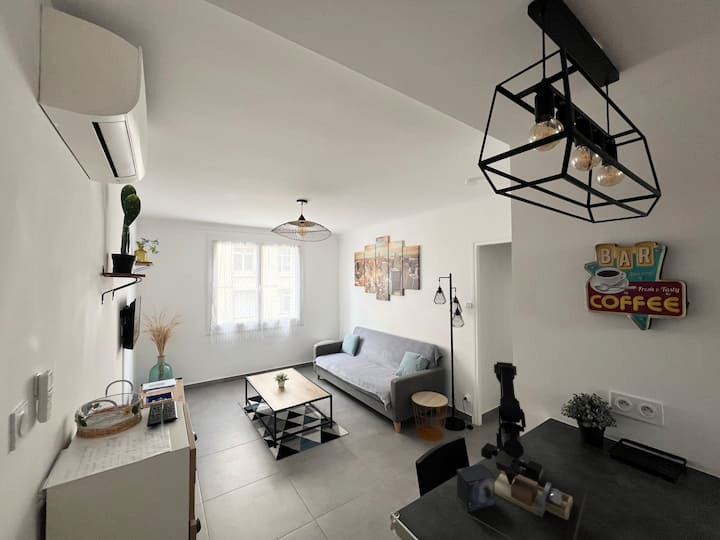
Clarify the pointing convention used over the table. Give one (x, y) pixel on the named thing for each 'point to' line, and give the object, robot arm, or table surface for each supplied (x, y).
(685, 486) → the table surface
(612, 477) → the table surface
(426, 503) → the table surface
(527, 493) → the slab
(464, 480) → the small box
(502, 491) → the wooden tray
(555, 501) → the roller
